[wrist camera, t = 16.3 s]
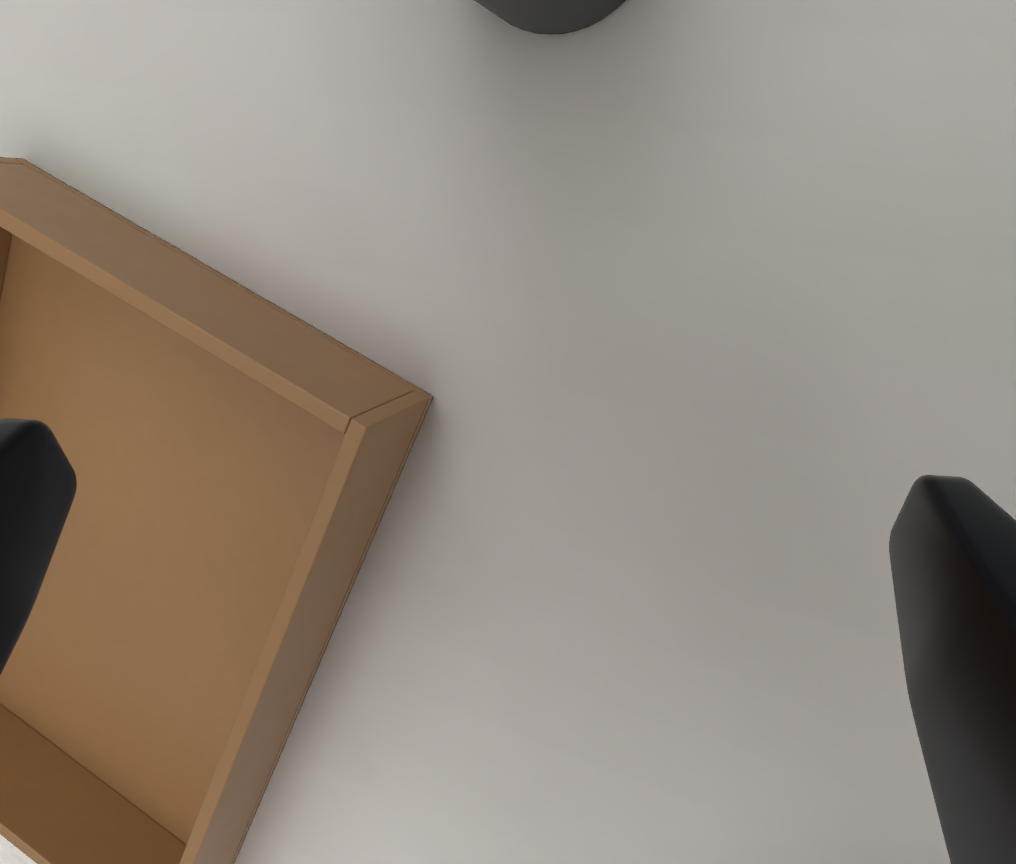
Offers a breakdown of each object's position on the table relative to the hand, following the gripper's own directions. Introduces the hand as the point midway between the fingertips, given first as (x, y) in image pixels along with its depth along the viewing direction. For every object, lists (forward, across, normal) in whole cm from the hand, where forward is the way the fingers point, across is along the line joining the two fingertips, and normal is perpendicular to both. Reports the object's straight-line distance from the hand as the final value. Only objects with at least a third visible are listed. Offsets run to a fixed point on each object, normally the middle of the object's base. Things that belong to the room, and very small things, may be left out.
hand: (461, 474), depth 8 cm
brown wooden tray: (+10, +14, +16) cm, 24 cm away
